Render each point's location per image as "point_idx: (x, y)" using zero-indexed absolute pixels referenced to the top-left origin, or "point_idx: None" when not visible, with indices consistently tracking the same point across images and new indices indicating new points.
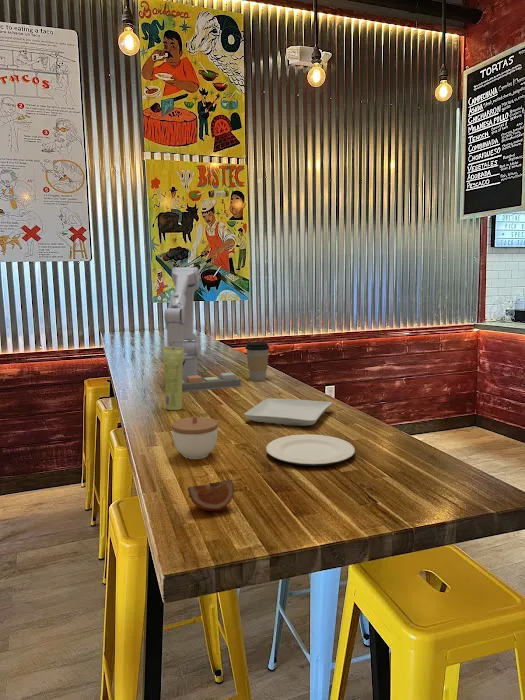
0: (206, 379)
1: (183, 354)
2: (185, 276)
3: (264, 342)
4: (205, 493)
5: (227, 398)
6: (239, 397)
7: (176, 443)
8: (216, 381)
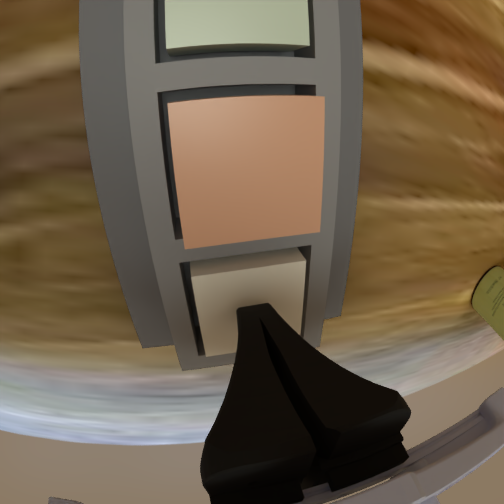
0: (277, 39)
1: (439, 492)
2: None
3: None
4: None
5: (487, 58)
6: (484, 7)
7: None
8: None
